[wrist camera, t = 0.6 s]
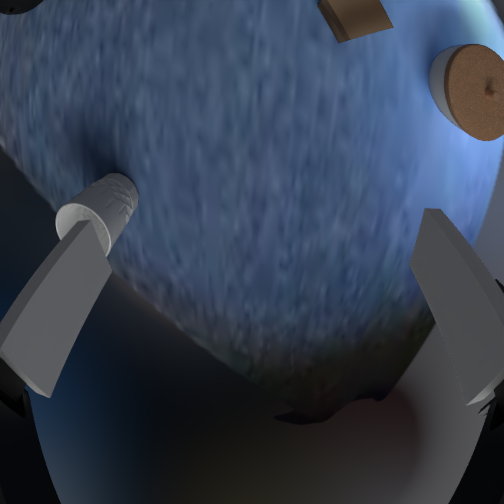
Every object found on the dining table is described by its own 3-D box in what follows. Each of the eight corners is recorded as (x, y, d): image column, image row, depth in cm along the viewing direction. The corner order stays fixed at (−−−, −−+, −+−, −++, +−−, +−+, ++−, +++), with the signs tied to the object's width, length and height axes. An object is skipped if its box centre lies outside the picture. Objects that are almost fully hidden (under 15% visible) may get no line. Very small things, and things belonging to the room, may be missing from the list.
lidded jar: (478, 127, 26) (522, 151, 19) (414, 120, 28) (455, 142, 20) (478, 52, 20) (526, 60, 13) (411, 36, 22) (454, 33, 14)
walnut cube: (317, 6, 21) (325, -4, 17) (356, -5, 20) (370, -16, 16) (338, 43, 24) (350, 39, 20) (376, 31, 22) (393, 27, 18)
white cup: (107, 157, 33) (65, 189, 25) (153, 190, 36) (121, 231, 28) (87, 198, 37) (49, 236, 29) (128, 228, 40) (97, 272, 32)
